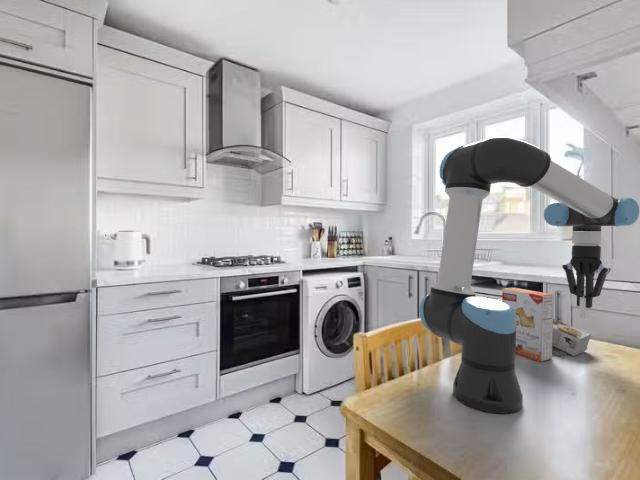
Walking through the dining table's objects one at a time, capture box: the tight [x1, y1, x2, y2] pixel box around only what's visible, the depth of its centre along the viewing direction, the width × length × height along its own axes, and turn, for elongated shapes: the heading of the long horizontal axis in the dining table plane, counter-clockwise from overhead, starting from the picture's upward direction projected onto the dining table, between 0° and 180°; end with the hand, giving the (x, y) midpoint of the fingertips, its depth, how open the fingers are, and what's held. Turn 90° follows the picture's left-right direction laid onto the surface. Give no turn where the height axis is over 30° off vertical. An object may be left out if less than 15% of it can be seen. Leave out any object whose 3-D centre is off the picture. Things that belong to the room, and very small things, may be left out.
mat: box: [552, 346, 570, 358], centre depth 124 cm, size 18×14×1 cm
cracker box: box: [501, 287, 554, 363], centre depth 116 cm, size 14×6×21 cm, turn 25°
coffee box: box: [552, 318, 592, 357], centre depth 122 cm, size 9×6×16 cm
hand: (584, 317), depth 115 cm, fingers closed
